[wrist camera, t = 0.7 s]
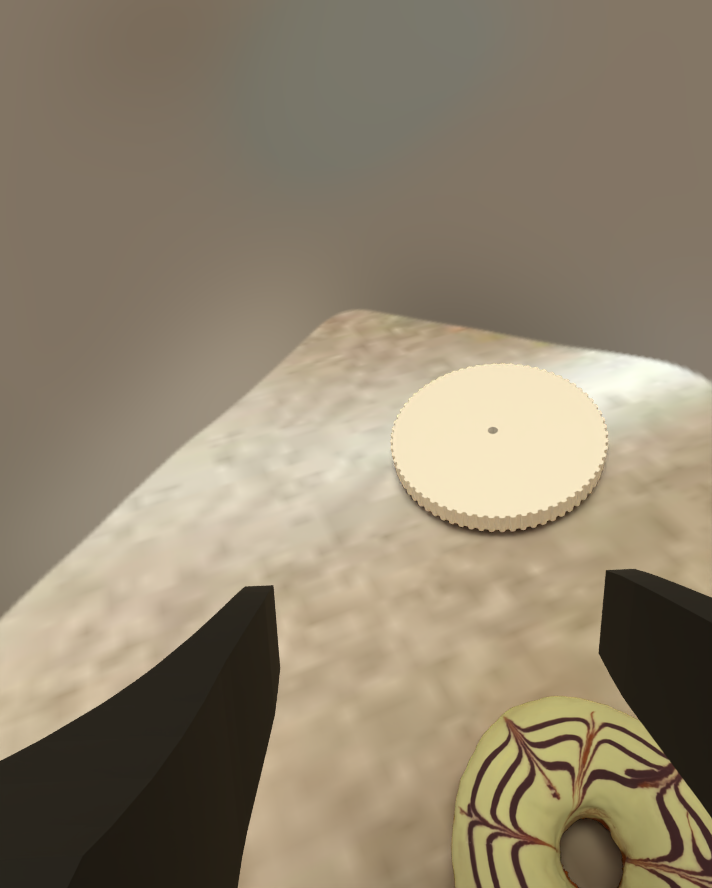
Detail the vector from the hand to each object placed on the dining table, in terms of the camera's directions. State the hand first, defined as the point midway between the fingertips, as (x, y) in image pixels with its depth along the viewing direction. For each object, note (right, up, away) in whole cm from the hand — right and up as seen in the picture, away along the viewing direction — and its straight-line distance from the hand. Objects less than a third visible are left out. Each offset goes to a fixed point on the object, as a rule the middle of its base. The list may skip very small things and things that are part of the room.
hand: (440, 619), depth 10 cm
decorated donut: (+8, -13, +10) cm, 18 cm away
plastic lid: (+8, +3, +25) cm, 26 cm away
